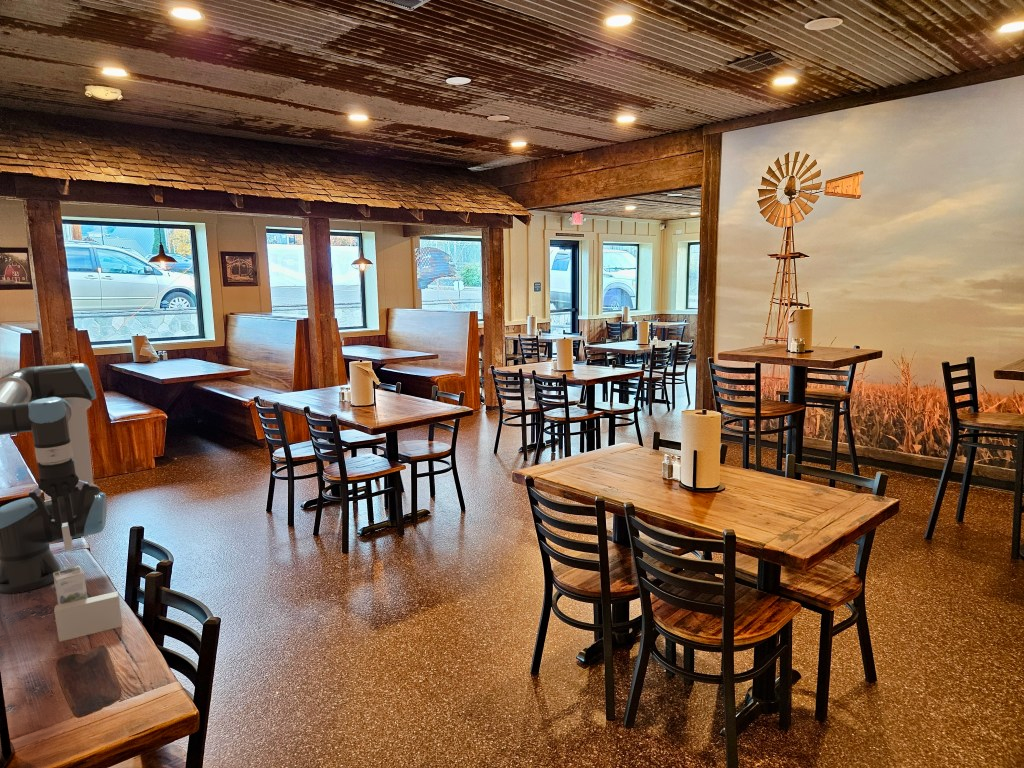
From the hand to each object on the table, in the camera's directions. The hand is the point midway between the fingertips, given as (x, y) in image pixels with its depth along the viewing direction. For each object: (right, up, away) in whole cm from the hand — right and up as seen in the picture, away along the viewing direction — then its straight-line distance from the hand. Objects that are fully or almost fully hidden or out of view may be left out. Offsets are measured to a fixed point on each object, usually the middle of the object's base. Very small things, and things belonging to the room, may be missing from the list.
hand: (69, 548), depth 171 cm
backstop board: (+11, -18, -8) cm, 23 cm away
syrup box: (+6, -18, -6) cm, 20 cm away
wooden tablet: (+22, -22, -27) cm, 42 cm away
